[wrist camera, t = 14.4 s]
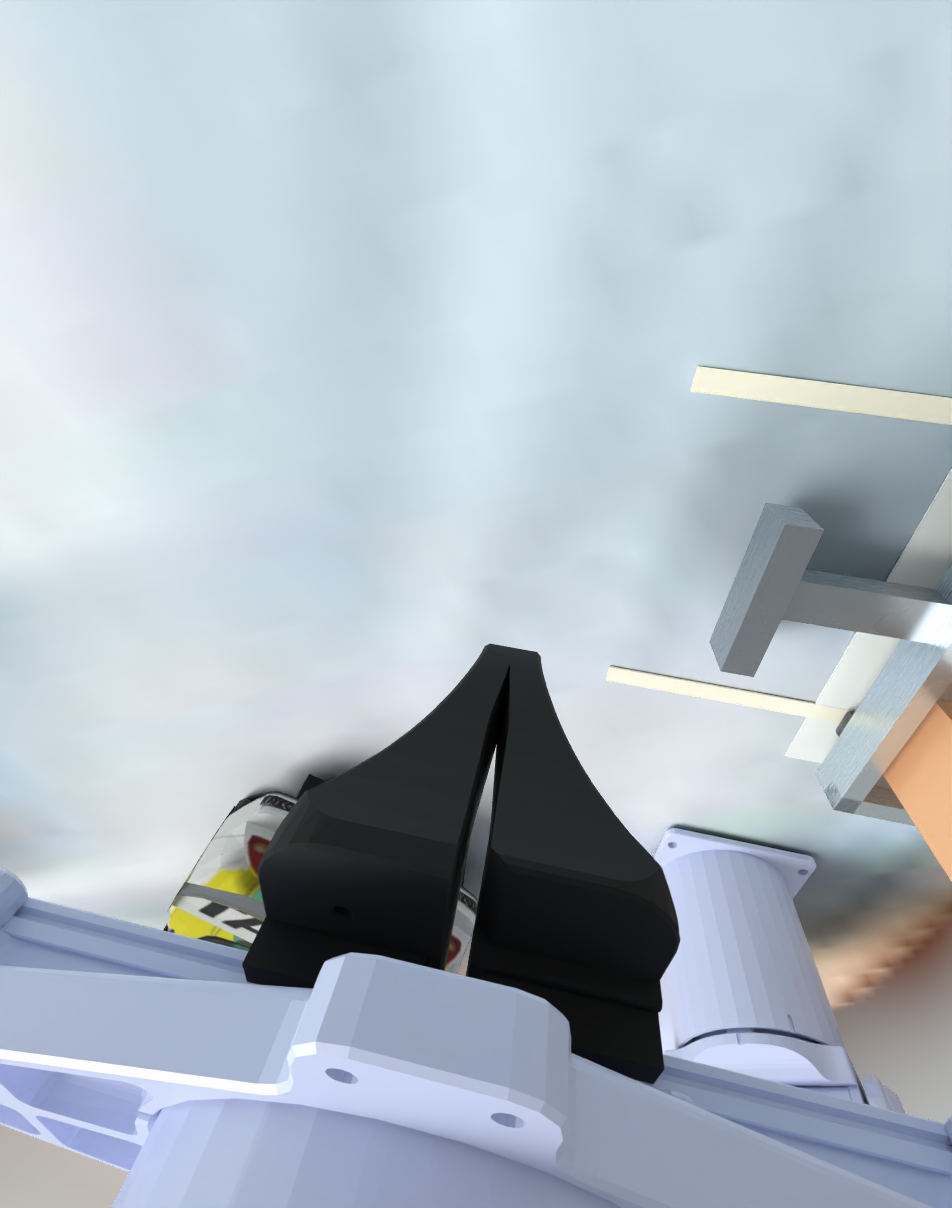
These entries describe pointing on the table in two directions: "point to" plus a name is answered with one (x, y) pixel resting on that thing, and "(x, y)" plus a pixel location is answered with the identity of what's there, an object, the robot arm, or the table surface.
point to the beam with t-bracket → (791, 592)
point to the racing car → (231, 887)
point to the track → (931, 549)
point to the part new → (928, 781)
